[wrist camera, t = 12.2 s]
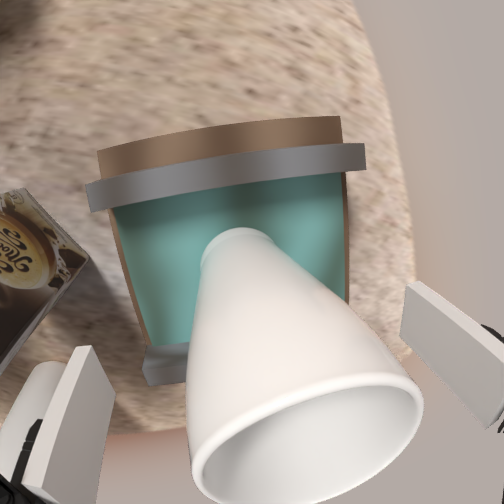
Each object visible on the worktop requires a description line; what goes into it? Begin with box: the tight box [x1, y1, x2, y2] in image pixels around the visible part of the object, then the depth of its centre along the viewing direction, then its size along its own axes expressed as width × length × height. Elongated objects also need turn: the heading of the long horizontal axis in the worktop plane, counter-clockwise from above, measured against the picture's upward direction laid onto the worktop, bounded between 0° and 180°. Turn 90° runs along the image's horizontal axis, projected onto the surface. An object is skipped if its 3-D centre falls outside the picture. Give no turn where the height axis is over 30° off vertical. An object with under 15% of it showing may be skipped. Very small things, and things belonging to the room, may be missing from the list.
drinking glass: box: [185, 227, 424, 504], centre depth 13 cm, size 7×7×15 cm
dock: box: [85, 116, 366, 386], centre depth 21 cm, size 16×18×7 cm
